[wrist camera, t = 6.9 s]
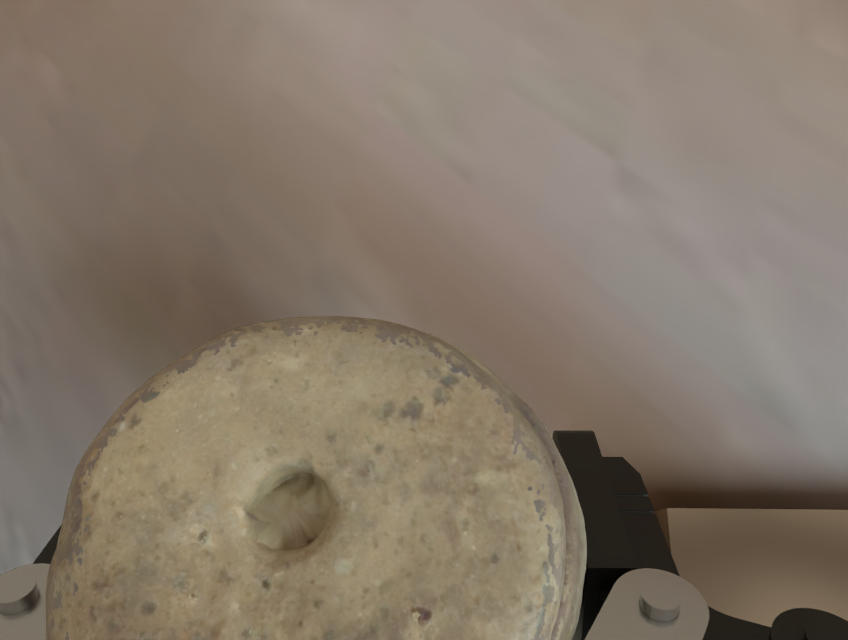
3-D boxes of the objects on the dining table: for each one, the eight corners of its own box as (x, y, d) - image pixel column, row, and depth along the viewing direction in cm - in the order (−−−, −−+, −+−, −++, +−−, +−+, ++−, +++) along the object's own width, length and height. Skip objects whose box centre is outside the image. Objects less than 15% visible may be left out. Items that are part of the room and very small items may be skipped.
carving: (218, 552, 19) (-131, 528, 8) (431, 382, 20) (398, 149, 9) (357, 763, 17) (164, 1131, 6) (581, 560, 18) (773, 543, 7)
